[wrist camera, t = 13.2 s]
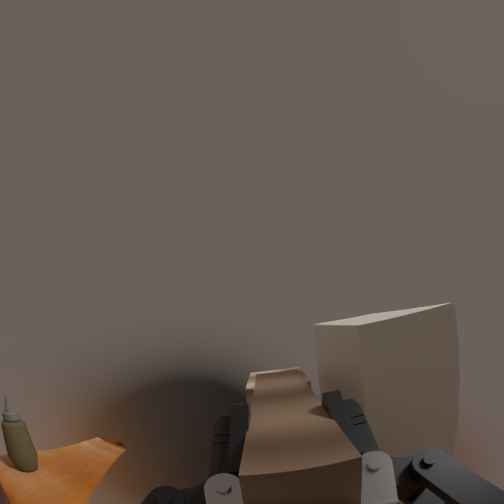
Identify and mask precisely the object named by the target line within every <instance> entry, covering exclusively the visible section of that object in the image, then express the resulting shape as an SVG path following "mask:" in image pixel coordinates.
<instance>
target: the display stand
mask: <svg viewBox="0 0 504 504" xmlns="http://www.w3.org/2000/svg"><path fill="white" fill-rule="evenodd" d="M313 331H314V339H315V348H316V357H317V367H318V377H319V387H320V396H317V397H318V399H319V400H320V402H321V403H322V393H325V392H330V391H335V390H340V392H341V394H342V397H343V400H347V399H351V398H352V399H354V400H355V401H356V402H357V403H358V404H359V405H360V406H361V408H362V410H363V413H364V416H365V417H366V419H367V423H368V424H369V426H370V429H371V431H372V433H373V436H374V438H375V440H376V443H377V445H378V447H379V449H380V450H381V451H382V452H384V453H386V454H388V455H389V456H391V457H407V456H414V455H415V453H416V452H417V451H418V450H420V449H422V448H424V447H436V448H438V449H440V450H442V451H443V452H444V453H446V454H447V455H449V456H450V457H452V458H453V459H454V453H455V446H456V437H457V427H458V415H459V391H460V390H459V389H460V388H459V387H460V375H459V374H460V372H459V346H458V332H457V322H456V313H455V305H454V302H451V303H446V304H439V305H433V306H427V307H420V308H413V309H406V310H399V311H391V312H383V313H375V314H369V315H364V316H359V317H354V318H348V319H342V320H337V321H331V322H325V323H319V324H313ZM398 501H399V503H400V504H403V503H402V502H401V501H400V500H399V499H398Z"/></svg>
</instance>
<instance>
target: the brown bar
mask: <svg viewBox="0 0 504 504" xmlns="http://www.w3.org/2000/svg"><path fill="white" fill-rule="evenodd" d="M246 396H247V403H249V407H250V412H251V417H250V423H249V430H248V431H247V432H246V437H245V443H244V448H243V454H242V459H241V464H240V469H239V475H238V477H239V482H240V488H241V493H242V499H243V504H361V491H362V456H361V454H360V453H359V452H358V450H357V449H356V448H355V447H354V445H353V444H352V443H351V441H350V440H349V439H348V437H347V436H346V435H345V433H344V432H343V431H342V430H341V428H340V427H339V426H338V424H337V423H336V422H335V420H334V419H333V420H332V419H331V417H330V416H329V415H328V413H327V412H326V410H325V409H324V408H323V406H322V405H321V402H320V400H319V399H318V397H317V396H316V395H315V393H314V392H313V391H312V389H311V381H310V380H309V379H308V377H307V376H306V375H305V374H304V373H303V371H302V370H301V369H300V368H299V367H295V368H289V369H280V370H273V371H264V372H255V373H250V376H249V380H248V383H247V386H246Z"/></svg>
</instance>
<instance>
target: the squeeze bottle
mask: <svg viewBox="0 0 504 504" xmlns="http://www.w3.org/2000/svg"><path fill="white" fill-rule="evenodd" d="M2 415H3V419H4V420H3V421H2V422H1V425H2V430H3V435H4V439H5V444H6V449H7V452H8V456H9V457H10V459H11V460H12V462H13V463H14V465H15V466H16V467H17V469H19V470H20V471H23V472H32V471H35V470H36V469H37V467H38V462H37V452H36V450H35V448H34V446H33V443H32V440H31V438H30V435H29V432H28V430H27V427H26V424H25V422H24V421H22V420H21V419H20V414H19V412H18V411H16V410H14V408H13V405H12V403H11V400H10V398H9V396H5V410H4V411H2Z"/></svg>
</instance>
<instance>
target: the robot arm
mask: <svg viewBox="0 0 504 504" xmlns="http://www.w3.org/2000/svg"><path fill="white" fill-rule="evenodd" d="M321 405H322V406H323V408H324V409H325V410H326V412H327V413H328V415H329V416H330V417H331V419H332V420H333V419H334V420H335V422H336V423H337V424H338V426H339V427H340V428H341V430H342V431H343V432H344V433H345V435H346V436H347V437H348V439H349V440H350V441H351V443H352V444H353V445H354V447H355V448H356V449H357V450H358V452H359V453H360V454H361V456H362V491H361V504H400V503H399V501H398V499H399V500H400V501H401V502H402V503H403V504H504V491H503V490H501V489H499V488H498V487H496V486H494V485H493V484H491V483H489V482H488V481H486V480H485V479H483V478H482V477H480V476H479V475H477V474H476V473H474V472H472V471H471V470H470V469H468V468H467V467H465V466H463V465H462V464H461V463H459V462H458V461H456V460H455V459H453V458H452V457H450V456H449V455H447V454H446V453H444V452H443V451H442V450H440V449H438V448H436V447H424V448H422V449H420V450H418V451H417V452H416V453H415V455H414V456H407V457H391V456H389V455H388V454H386V453H384V452H382V451H381V450H380V449H379V447H378V445H377V443H376V440H375V438H374V436H373V433H372V431H371V429H370V426H369V424H368V423H367V419H366V417H365V416H364V413H363V410H362V408H361V406H360V405H359V404H358V403H357V402H356V401H355V400H354V399H352V398H351V399H347V400H343V397H342V394H341V392H340V390H335V391H330V392H325V393H322V403H321ZM250 417H251V412H250V407H249V403H244V404H232V405H231V416H220V418H219V419H218V421H217V422H216V424H215V426H214V437H213V445H212V455H211V466H210V473H209V476H208V478H207V479H206V480H205V481H204V482H203V483H202V484H200V485H198V486H195V487H192V488H187V489H182V490H178V489H176V488H174V487H171V486H160V487H157V488H155V489H154V490H152V491H151V492H150V493H149V495H148V496H147V497H146V498H145V499H144V501H143V502H142V503H141V504H243V499H242V493H241V488H240V482H239V477H238V475H239V469H240V464H241V459H242V454H243V448H244V443H245V437H246V432H247V431H248V430H249V423H250ZM0 504H11V503H10V501H9V499H8V497H7V495H6V493H5V491H4V489H3V487H2V485H1V483H0Z"/></svg>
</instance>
